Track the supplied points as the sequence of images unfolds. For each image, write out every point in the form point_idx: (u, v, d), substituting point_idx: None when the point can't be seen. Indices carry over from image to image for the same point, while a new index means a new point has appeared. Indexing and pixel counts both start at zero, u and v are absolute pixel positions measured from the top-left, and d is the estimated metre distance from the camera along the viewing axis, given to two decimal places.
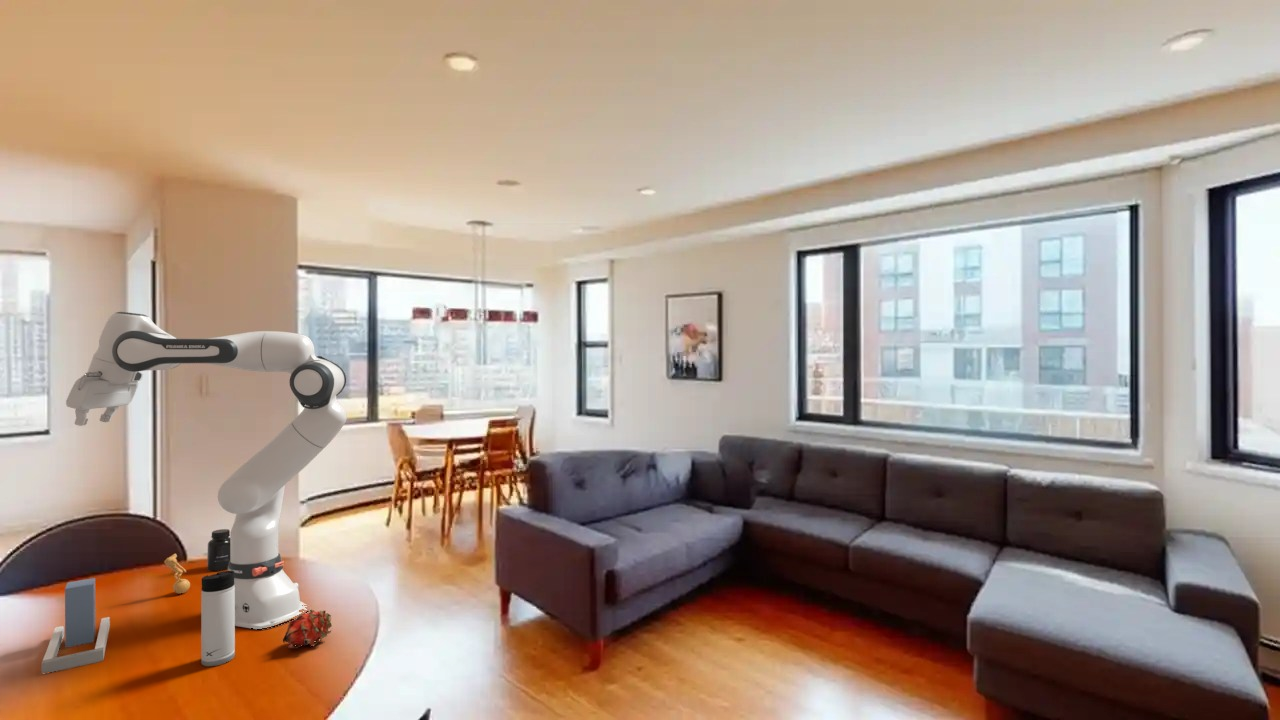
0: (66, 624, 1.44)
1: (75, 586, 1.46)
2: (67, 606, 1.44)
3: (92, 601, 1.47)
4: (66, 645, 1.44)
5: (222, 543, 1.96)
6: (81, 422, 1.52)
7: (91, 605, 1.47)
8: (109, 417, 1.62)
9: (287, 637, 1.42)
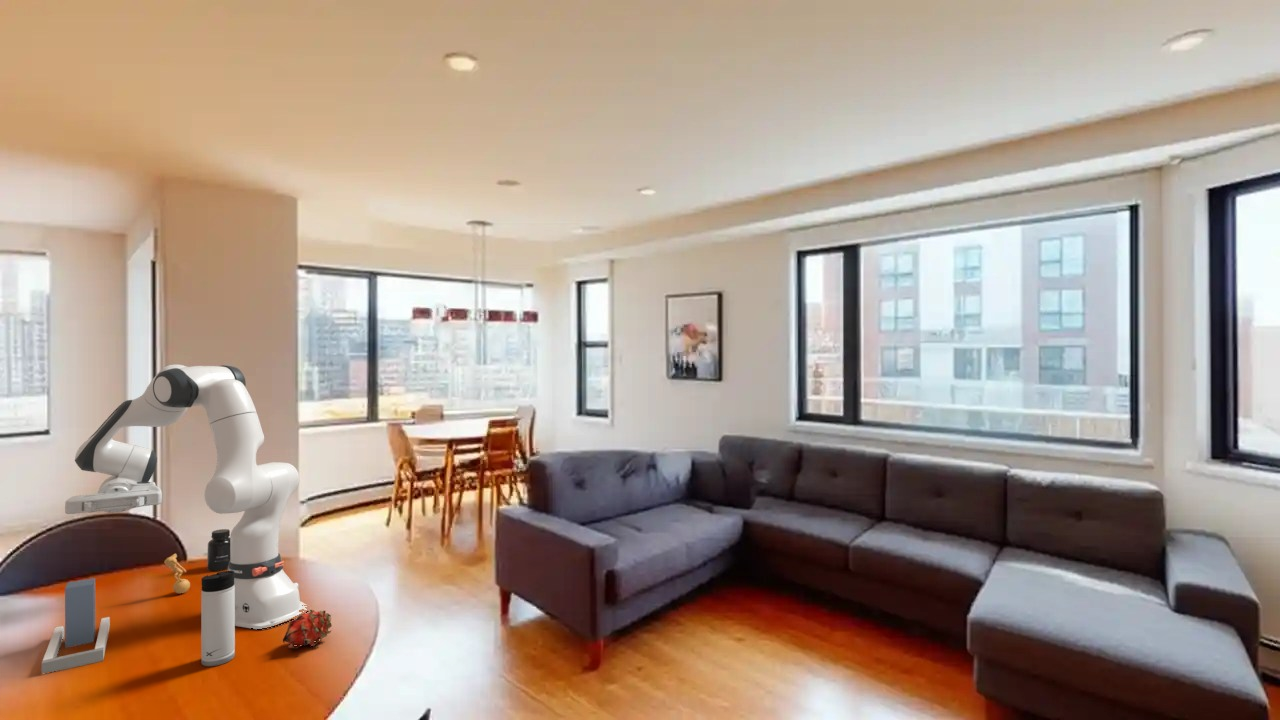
0: (66, 624, 1.44)
1: (75, 586, 1.46)
2: (67, 606, 1.44)
3: (92, 601, 1.47)
4: (66, 645, 1.44)
5: (222, 543, 1.96)
6: (88, 506, 1.61)
7: (91, 605, 1.47)
8: (134, 500, 1.67)
9: (287, 637, 1.42)
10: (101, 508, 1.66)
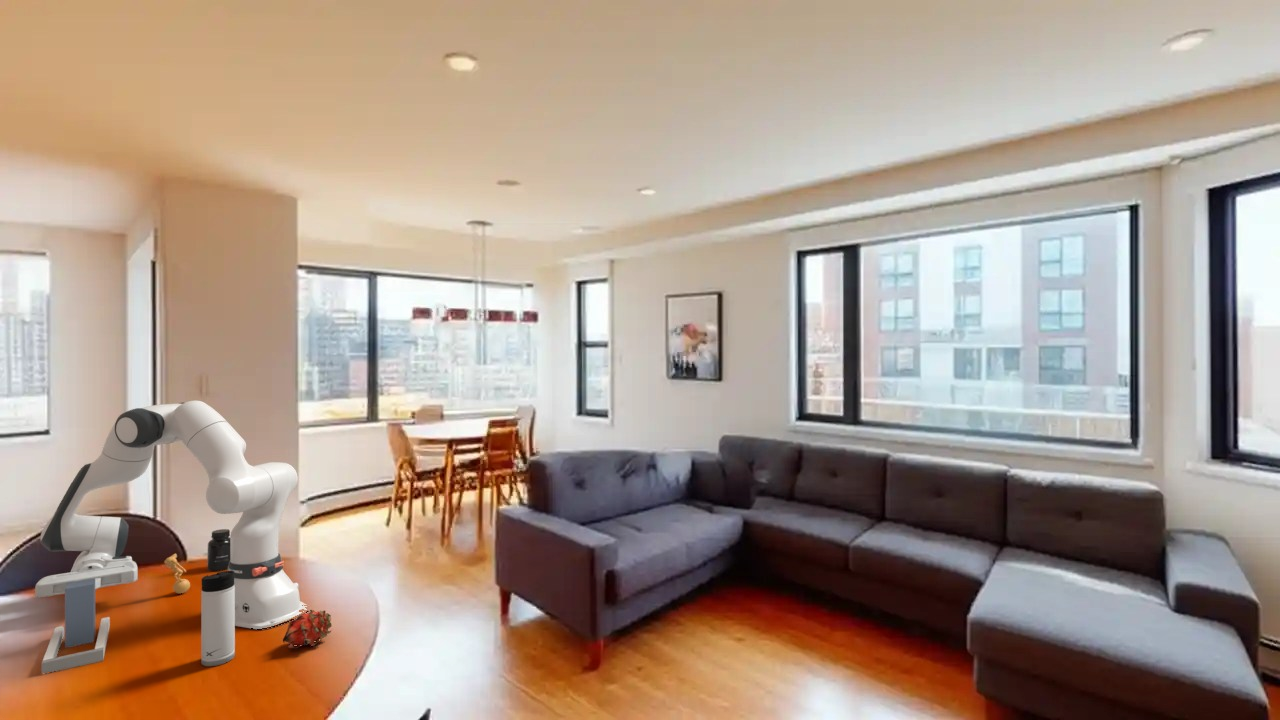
0: (66, 624, 1.44)
1: (75, 586, 1.46)
2: (67, 606, 1.44)
3: (92, 601, 1.47)
4: (66, 645, 1.44)
5: (222, 543, 1.96)
6: None
7: (91, 605, 1.47)
8: None
9: (287, 637, 1.42)
10: None
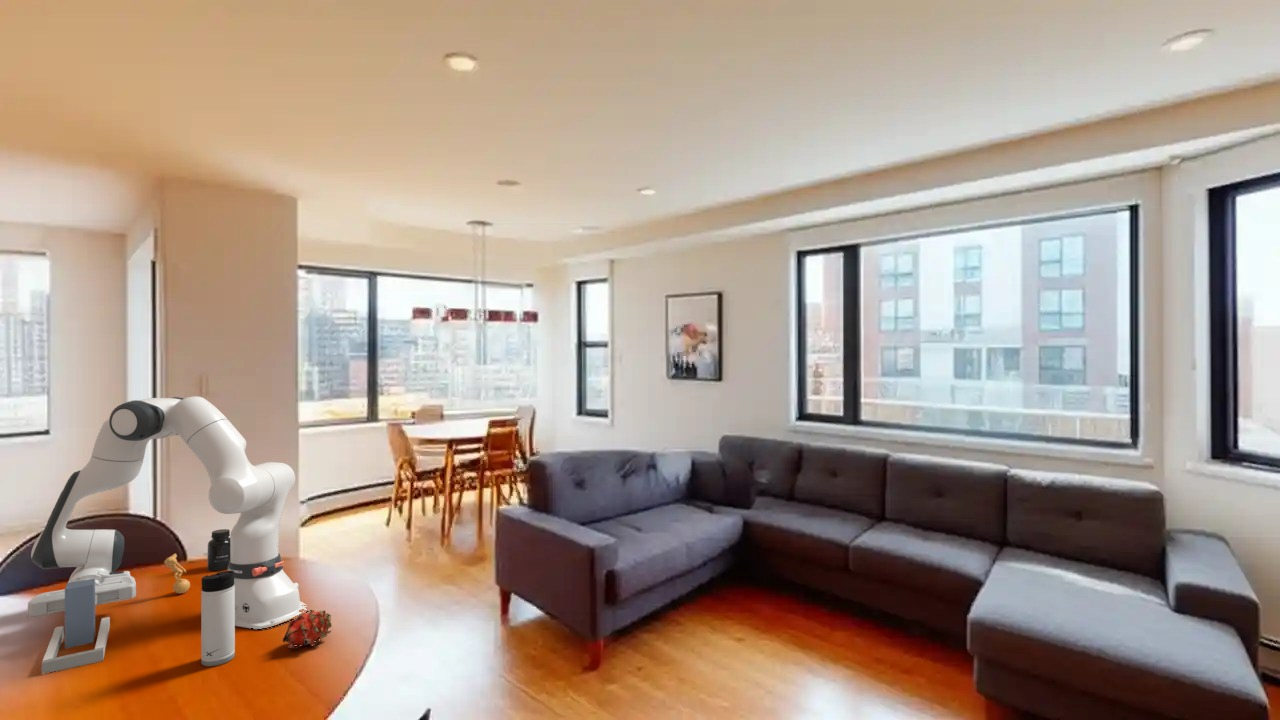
0: (66, 625, 1.44)
1: (75, 586, 1.45)
2: (67, 606, 1.44)
3: (92, 601, 1.47)
4: (66, 646, 1.44)
5: (222, 543, 1.96)
6: None
7: (91, 605, 1.47)
8: None
9: (287, 637, 1.42)
10: None
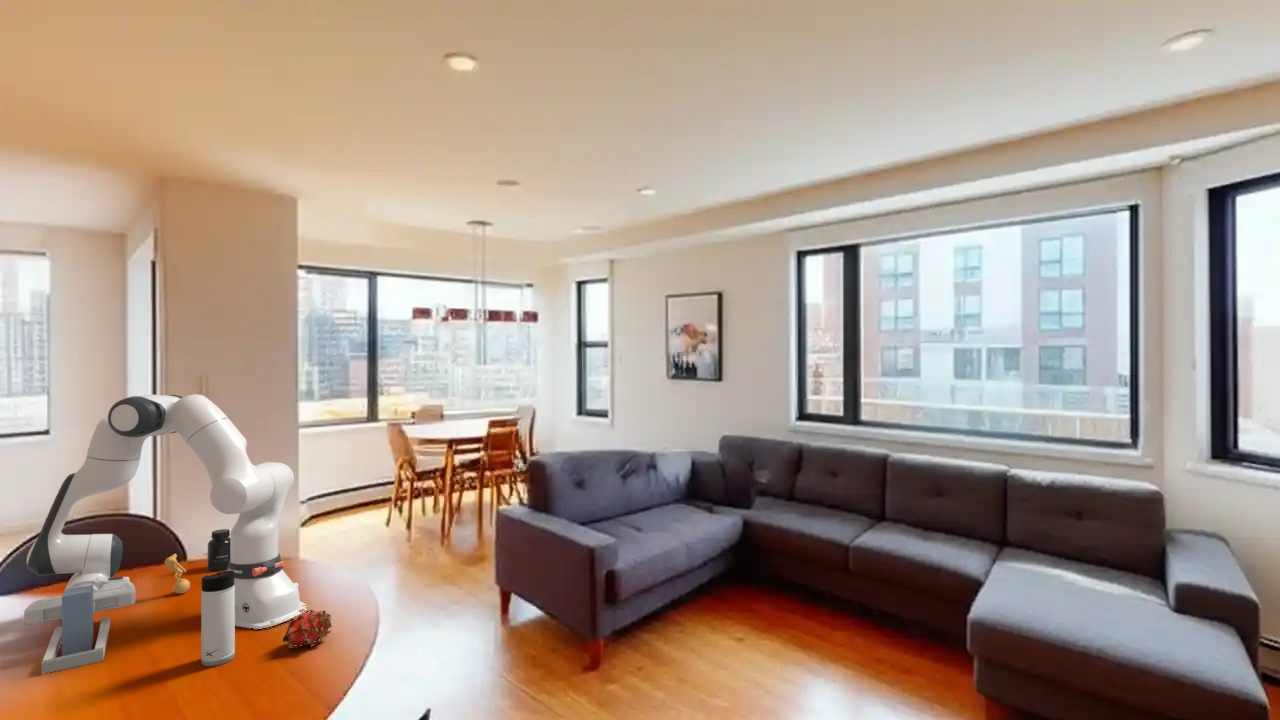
0: (63, 633, 1.40)
1: (72, 593, 1.41)
2: (64, 614, 1.40)
3: (90, 608, 1.43)
4: (63, 654, 1.40)
5: (222, 543, 1.96)
6: None
7: (89, 613, 1.43)
8: None
9: (287, 637, 1.42)
10: None
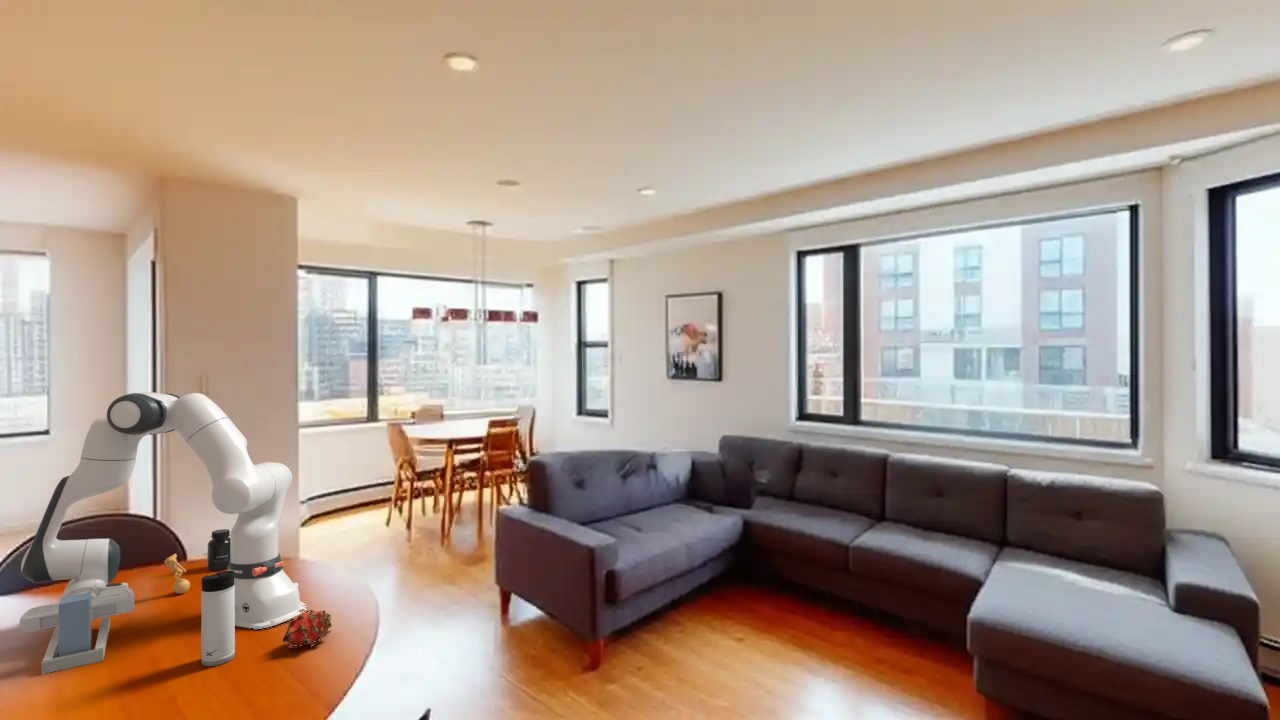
0: (60, 641, 1.36)
1: (70, 601, 1.37)
2: (61, 622, 1.36)
3: (88, 616, 1.38)
4: None
5: (222, 543, 1.96)
6: None
7: (87, 621, 1.38)
8: None
9: (287, 637, 1.42)
10: None
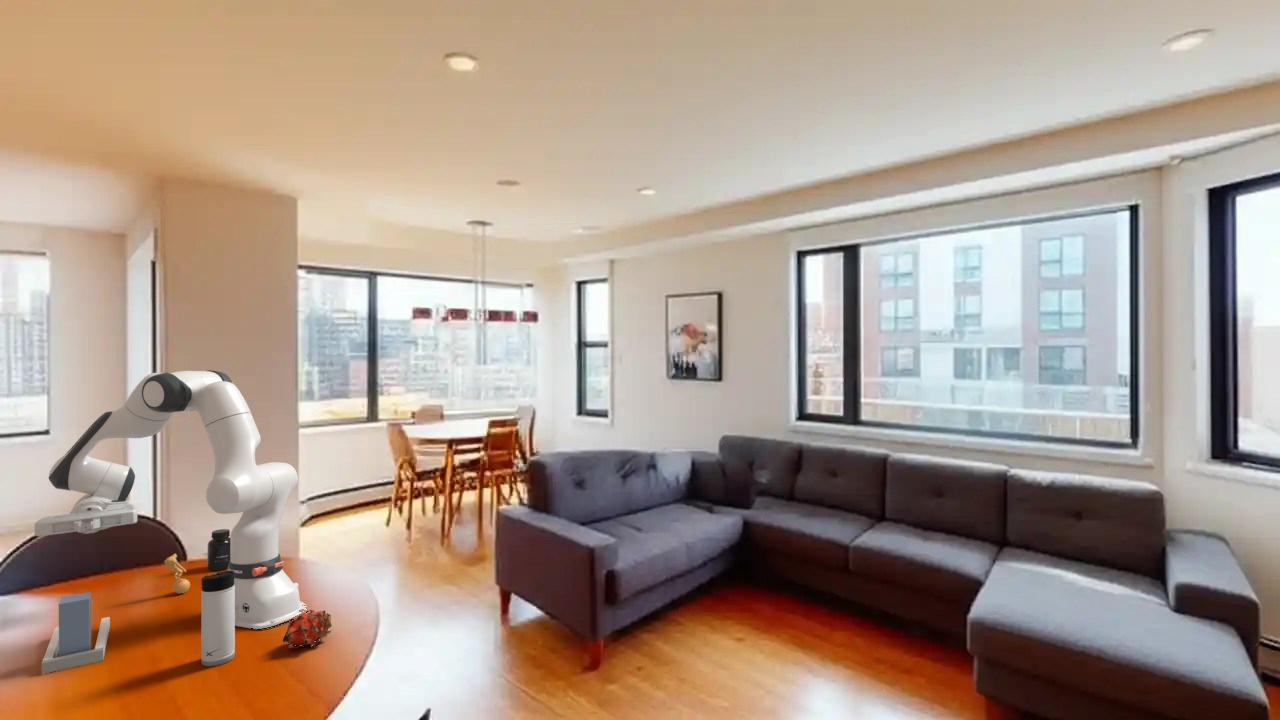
0: (60, 641, 1.36)
1: (70, 601, 1.37)
2: (61, 622, 1.36)
3: (88, 616, 1.38)
4: None
5: (222, 543, 1.96)
6: None
7: (87, 621, 1.38)
8: (88, 522, 1.58)
9: (287, 637, 1.42)
10: (73, 529, 1.59)
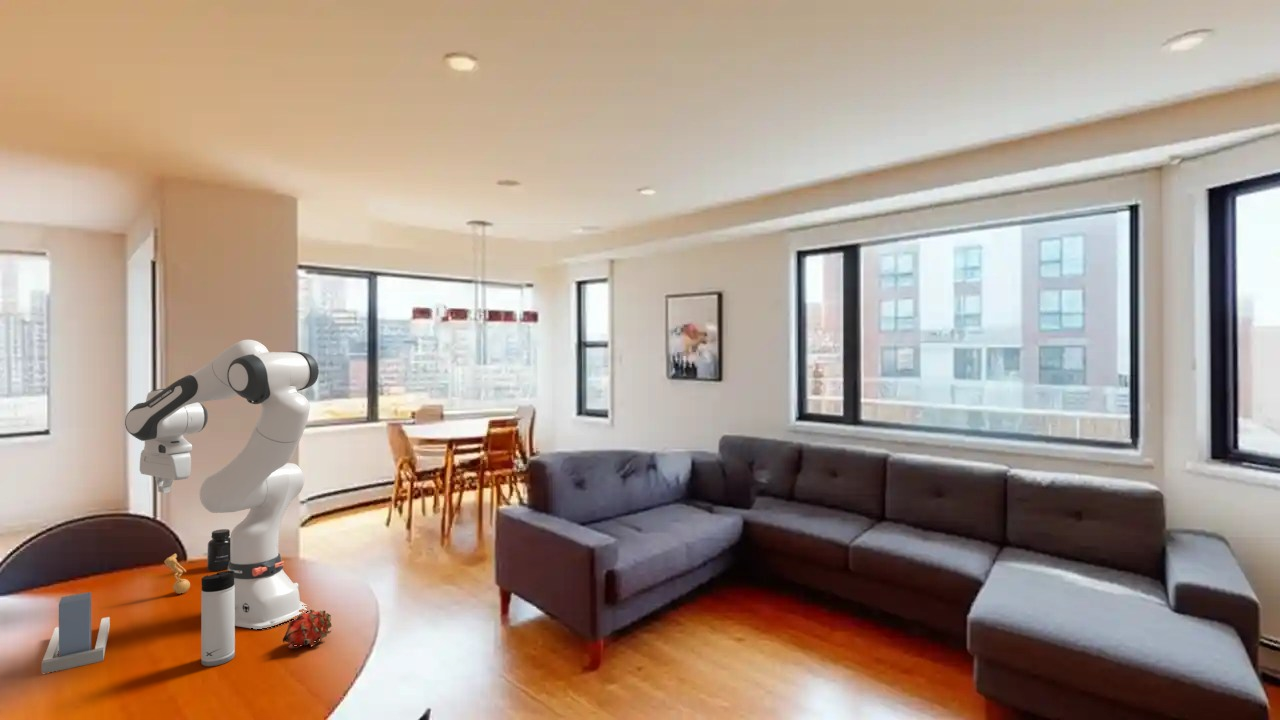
0: (60, 641, 1.36)
1: (70, 601, 1.37)
2: (61, 622, 1.36)
3: (88, 616, 1.38)
4: None
5: (222, 543, 1.96)
6: None
7: (87, 621, 1.38)
8: (161, 488, 1.76)
9: (287, 637, 1.42)
10: None
